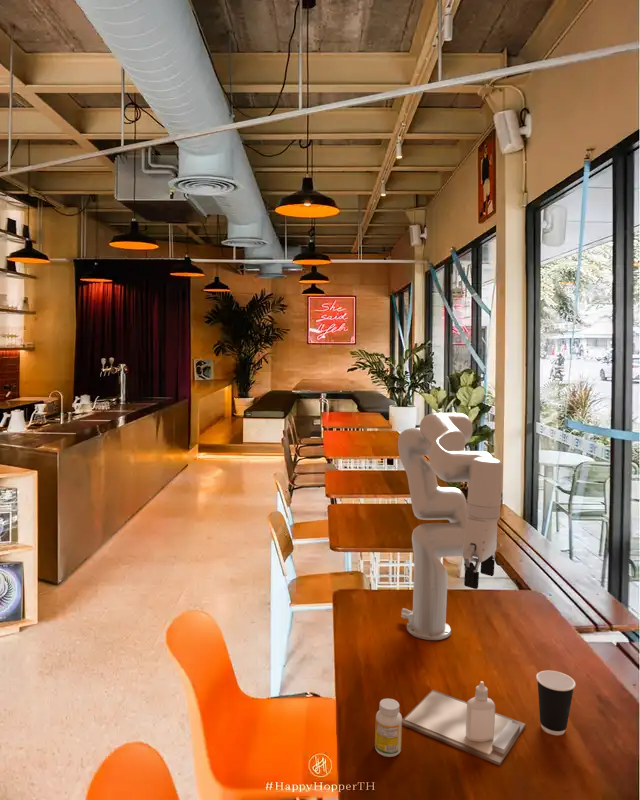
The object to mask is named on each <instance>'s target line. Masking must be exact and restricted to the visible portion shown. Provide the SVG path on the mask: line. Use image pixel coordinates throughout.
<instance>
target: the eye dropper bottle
mask: <svg viewBox="0 0 640 800" xmlns="http://www.w3.org/2000/svg"><path fill="white" fill-rule="evenodd" d="M488 693H489V689H488V687H487V686H485V683H484V681H482V680H480V682H479V685H477V686H475V695H474V697H472V698H470V699H468V700H467V701H466V702H467V714H466V735H467V737H468V739H469V740H471V741H475V742H486V741H490V740H492V739H493V738H494V725H495V713H496V704H495V702H494V701H493V700H492V699H491V698H489V697H488V695H489V694H488Z"/></svg>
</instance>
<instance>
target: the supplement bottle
mask: <svg viewBox="0 0 640 800" xmlns="http://www.w3.org/2000/svg"><path fill="white" fill-rule="evenodd" d="M378 705H379V706H378V707H379V708H378V709H379V710H377V712H376V714H375V725H374V727H375V729H374V731H375V732H374V733H375V734H374V747H375V750H376V752H377V753H378V754H379V755H381V756H383V757H387V758H391V757H396V756H397V755H399V754H400V752H401V751H402V734H403V725H402V719H403V717H402V714H401V713H400V703H399V702H398V701H397V700H396V699H393V698H383V699H381V700H380V701H379V704H378Z"/></svg>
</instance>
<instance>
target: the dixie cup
mask: <svg viewBox="0 0 640 800" xmlns="http://www.w3.org/2000/svg"><path fill="white" fill-rule="evenodd" d="M535 678H536V681H537V693H538V707H539V708H538V709H539V710H538V711H539V723H540V725H541V729H542V730H543V732H545V733H547V734H549V735H553V736H562V735H564V734H565V733H566V732H565V731H566V729H567V727H568V721H569V716H570V710H571V706H572V701H573V700H572V699H573V694H574V689H575V687H576V681H575V680H574V679H573V678H572V677H571V676H569V675H568V674H565V673H563V672H560V671H557V670H548V669H547V670H542V671H539V672H537V673H536V676H535Z"/></svg>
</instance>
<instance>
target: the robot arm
mask: <svg viewBox="0 0 640 800" xmlns="http://www.w3.org/2000/svg"><path fill="white" fill-rule="evenodd" d="M472 435H473V423H472V420H471V419H470V418H469V416H468V415H466V414H464V413H461V412H433V413H429V414H426V415H424V416H423V418H422V419H421V421H420V423H419V427H413V428H411V427H410V428H408V429H404V430H403V431H402V432H400V434H399V436H398V439H397V447H398V455H399V459H400V461H401V465H402V466H403V468H404V470H405V473H406V477H407V481H408V490H409V494H410V495H409V496H410V501H411V509H412V513H413V514H414V517H416V518H417V519H418V520H424V521H434V520H435V521H436V520H437V521H438V520H440V521H441V520H442V521H443V520H447V521H449V522H444V523H443V522H431V523H430V522H429V523H422V524H419V525H418V526H416V527H415V528H414V529H413V531H412V533H411V543H412V550H413V551H412V552H413V589H412V590H413V592H412V593H413V594H412V610H411V609H410V610H409V608H405V607H402V608H401V612H400V613H401V615H400V617H401V618H403V619H407V621H408V622H407V623H406V630H407V632H408V633H409V634H410V635H411V636H413V637H415V638H418V639H422V640H426V641H439V640H440V641H441V640H445V639H446V638H449V636H451V634H452V632H451V631H452V628H451V627H450V625H449V624H448V623H446V622H447V597H448V571H447V568H446V567H445V565H444V564H443V563H442V562H441V558H447V557H450V558H451V557H462V558H463V561H464V563H463V566H464V567H463V568H464V569H463V570H464V580H463V581H464V582H463V583H464V584H463V585H464V586H465V587H467V588H470V589H474V590H477V589H479V579H480V576H479V575H480V574H483V575H486V576H490V577H493V576H494V574H495V564H496V562H495V561H496V551H497V545H498V521H499V520H500V519H501V518H500V517H501V505H502V504H501V503H502V501H501V500H502V487H503V486H502V484H503V472H504V467H503V463H502V462H501V460H499V459H497V458H494V457H493V455H492V454H491V453H489V452H488V451H483V450H465V446H466V444H467V443H468V442H469V441H470V440H471V437H473V436H472ZM427 456H428V460H429V462H428V461H427V460H426V459H424V457H427ZM437 477H438V478H439V479H440V480H442V481H444V482H446V483H468V486H467V499H466V496H465V494H464V493H463V491H462V490H461V489H459V488H457V487H453V486H439V484H438V480H437V479H438V478H437ZM474 563H475V564H474ZM479 567H480V572H479V571H478V570H479Z"/></svg>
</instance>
